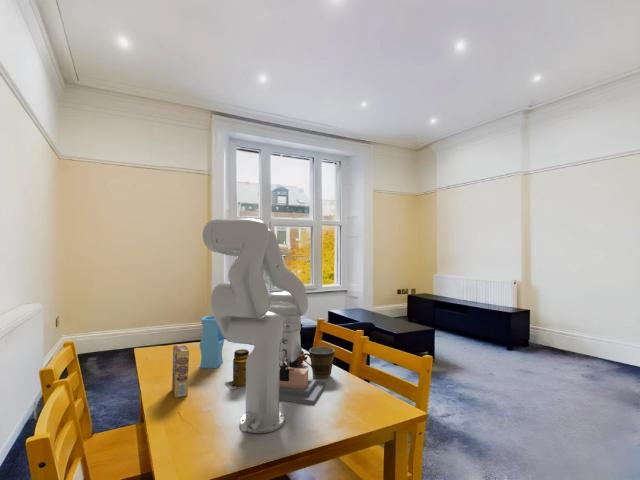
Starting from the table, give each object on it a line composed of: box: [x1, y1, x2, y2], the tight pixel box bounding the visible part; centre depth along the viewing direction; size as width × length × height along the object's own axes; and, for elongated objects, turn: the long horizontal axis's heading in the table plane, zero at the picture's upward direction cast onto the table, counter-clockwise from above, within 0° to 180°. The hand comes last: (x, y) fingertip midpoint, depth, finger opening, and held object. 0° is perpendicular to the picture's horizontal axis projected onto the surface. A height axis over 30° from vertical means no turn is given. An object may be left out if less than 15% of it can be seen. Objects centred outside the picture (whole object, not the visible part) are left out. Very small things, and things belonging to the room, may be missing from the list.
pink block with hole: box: [279, 366, 309, 390], centre depth 123 cm, size 12×5×6 cm, turn 76°
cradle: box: [279, 378, 327, 405], centre depth 124 cm, size 16×22×4 cm
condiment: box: [224, 348, 250, 391], centre depth 130 cm, size 7×8×12 cm
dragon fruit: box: [286, 347, 308, 365], centre depth 151 cm, size 8×8×12 cm
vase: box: [199, 315, 225, 369], centre depth 151 cm, size 8×8×20 cm
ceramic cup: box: [302, 346, 336, 380], centre depth 138 cm, size 13×10×10 cm
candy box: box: [171, 344, 190, 399], centre depth 122 cm, size 9×4×15 cm, turn 29°
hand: (289, 375), depth 123 cm, fingers open, 9 cm apart
